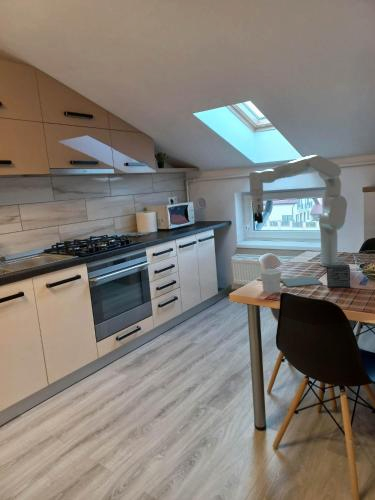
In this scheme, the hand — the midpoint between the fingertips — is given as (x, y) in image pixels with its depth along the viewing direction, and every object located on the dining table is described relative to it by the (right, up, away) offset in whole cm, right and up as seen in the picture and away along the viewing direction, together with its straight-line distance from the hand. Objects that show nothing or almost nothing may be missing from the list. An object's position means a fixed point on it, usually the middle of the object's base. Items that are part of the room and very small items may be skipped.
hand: (258, 221), depth 219 cm
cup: (0, -37, -33) cm, 50 cm away
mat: (+18, -34, -23) cm, 45 cm away
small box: (+33, -35, -35) cm, 60 cm away
